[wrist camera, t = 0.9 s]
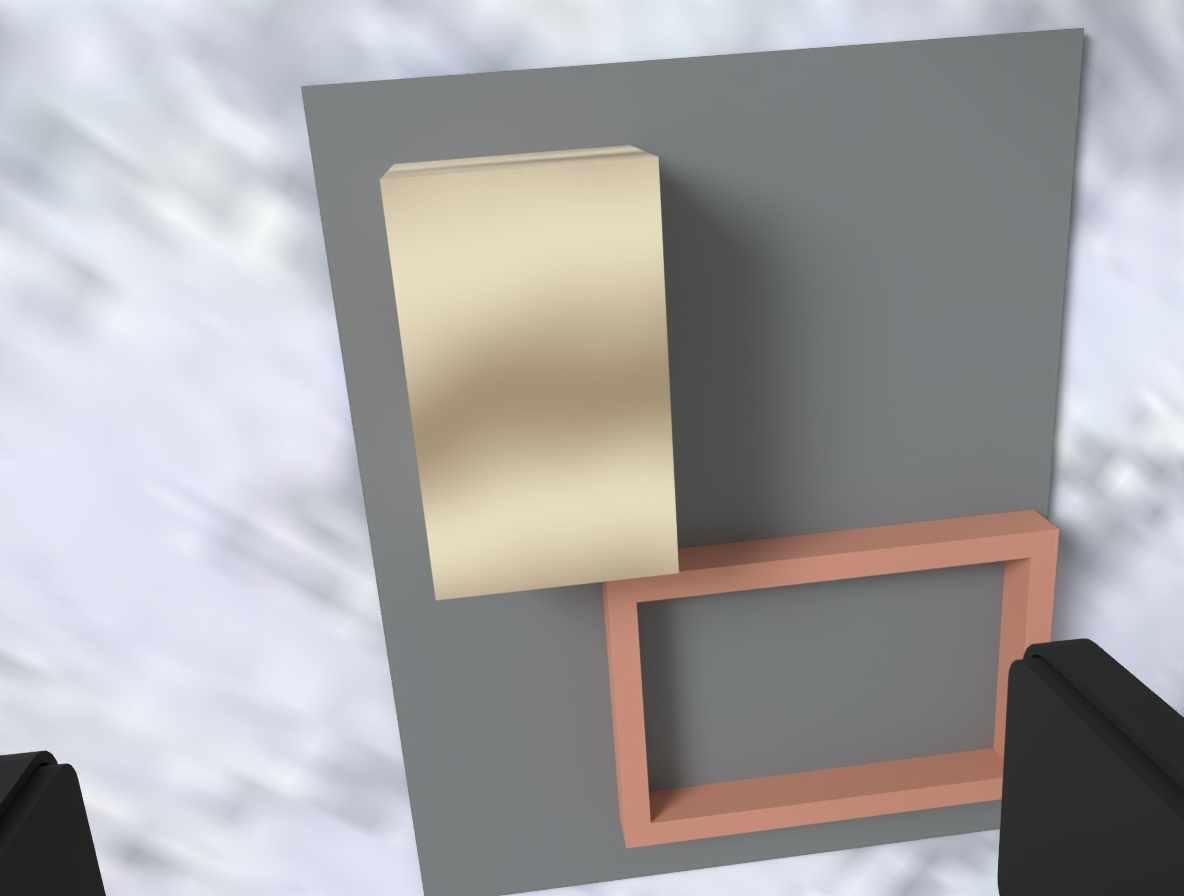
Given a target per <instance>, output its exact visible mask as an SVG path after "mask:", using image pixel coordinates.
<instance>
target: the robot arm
mask: <svg viewBox="0 0 1184 896" xmlns="http://www.w3.org/2000/svg"><path fill="white" fill-rule="evenodd" d="M998 889H999V895H1000V896H1184V717H1182V716H1181V715H1180V714H1179V713H1178V712H1176V711H1175V710H1174V709H1173V708H1172V707H1171V706H1169V705H1168V704H1167V703H1166V702H1165V701H1163V700H1162V699H1161V698H1160V697H1159V696H1157V695H1156V694H1155V693H1154V692H1153V691H1152V690H1150V689H1149V688H1148V687H1147V686H1146V685H1144V684H1143V683H1142V682H1141V681H1140V680H1138V679H1137V678H1136V677H1135V676H1134V675H1133V674H1131V673H1130V672H1129V671H1128V670H1127V669H1125V668H1124V667H1123V666H1122V665H1121V664H1120V663H1118V662H1117V661H1116V660H1115V659H1114V658H1112V657H1111V656H1110V655H1109V654H1108V653H1106V652H1105V651H1104V650H1103V649H1102V648H1101V647H1099V646H1098V645H1097V644H1096V643H1094V642H1093V641H1091V640H1089V639H1073V640H1064V641H1055V642H1046V643H1036V644H1031V645H1030V646H1029V647H1027V649H1026V651H1025V653H1024V655H1023V659H1020V660H1015V661H1014V662H1012V664H1011V666H1010V668H1009V674H1008V689H1007V708H1006V727H1005V746H1004V764H1003V783H1002V802H1001V821H1000V840H999V858H998ZM0 896H106V894H105V890H104V886H103V882H102V878H101V873H100V869H99V865H98V861H97V857H96V852H95V848H94V844H93V840H92V835H91V831H90V827H89V823H88V819H87V814H86V810H85V806H84V802H83V798H82V793H81V789H80V785H79V781H78V777H77V774H76V771H75V770H74V768H73V767H72V765H70V764H68V763H67V764H58V763H57V761H56V759H55V758H54V756H53V755H52V754H51V753H50V752H48V751H37V752H28V753H19V754H10V755H0Z"/></svg>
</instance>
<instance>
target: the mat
mask: <svg viewBox="0 0 1184 896" xmlns="http://www.w3.org/2000/svg"><path fill="white" fill-rule="evenodd" d="M1083 37H1084V28H1076V29H1063V30H1050V31H1036V32H1023V33H1009V34H996V35H983V36H969V37H956V38H943V39H929V40H916V41H903V42H889V43H876V44H863V45H849V46H836V47H823V48H809V49H796V50H783V51H769V52H756V53H742V54H729V55H716V56H702V57H689V58H676V59H662V60H649V61H636V62H622V63H609V64H596V65H582V66H569V67H556V68H542V69H529V70H515V71H502V72H489V73H475V74H462V75H449V76H435V77H422V78H409V79H395V80H382V81H369V82H355V83H342V84H329V85H315V86H302V87H301V90H302V96H303V103H304V110H305V116H306V123H307V129H308V136H309V142H310V149H311V155H312V162H313V169H314V175H315V182H316V188H317V195H318V201H319V208H320V214H321V221H322V228H323V234H324V241H325V247H326V254H327V260H328V267H329V274H330V280H331V287H332V293H333V300H334V306H335V313H336V319H337V326H338V333H339V339H340V346H341V352H342V359H343V365H344V372H345V378H346V385H347V392H348V398H349V405H350V411H351V418H352V424H353V431H354V437H355V444H356V451H357V457H358V464H359V470H360V477H361V483H362V490H363V496H364V503H365V510H366V516H367V523H368V529H369V536H370V542H371V549H372V555H373V562H374V569H375V575H376V582H377V588H378V595H379V601H380V608H381V615H382V621H383V628H384V634H385V641H386V647H387V654H388V660H389V667H390V674H391V680H392V687H393V693H394V700H395V706H396V713H397V719H398V726H399V733H400V739H401V746H402V752H403V759H404V765H405V772H406V778H407V785H408V792H409V798H410V805H411V811H412V818H413V824H414V831H415V837H416V844H417V851H418V857H419V864H420V870H421V877H422V883H423V890H424V896H501V895H508V894H516V893H523V892H531V891H538V890H546V889H553V888H561V887H568V886H576V885H583V884H591V883H598V882H606V881H613V880H621V879H628V878H636V877H643V876H651V875H658V874H665V873H673V872H680V871H688V870H695V869H703V868H710V867H718V866H725V865H733V864H740V863H748V862H755V861H763V860H770V859H778V858H785V857H793V856H800V855H808V854H815V853H823V852H830V851H838V850H845V849H853V848H860V847H868V846H875V845H882V844H890V843H897V842H905V841H912V840H920V839H927V838H935V837H942V836H950V835H957V834H965V833H972V832H980V831H987V830H995V829H1000V821H1001V802H1002V783H1003V764H1004V746H1005V727H1006V708H1007V689H1008V674H1009V668H1010V666H1011V664H1012V662H1014V661H1015V660H1020V659H1023V655H1024V653H1025V651H1026V649H1027V647H1029V646H1030V645H1031V644H1036V643H1046V642H1051V629H1052V617H1053V604H1054V592H1055V579H1056V566H1057V554H1058V541H1059V528H1057V527H1056V526H1055V525H1053V524H1052V523H1051V522H1049V521H1048V520H1047V516H1048V502H1049V489H1050V476H1051V462H1052V449H1053V436H1054V422H1055V409H1056V396H1057V383H1058V369H1059V356H1060V343H1061V329H1062V316H1063V303H1064V289H1065V276H1066V263H1067V250H1068V236H1069V223H1070V210H1071V196H1072V183H1073V170H1074V156H1075V143H1076V130H1077V116H1078V103H1079V90H1080V77H1081V63H1082V50H1083ZM624 145H631V146H633V147H636V148H638V149H641V150H643V151H646V152H648V153H650V154H653V155H655V156H658V158H659V178H660V198H661V219H662V239H663V260H664V280H665V301H666V321H667V341H668V362H669V382H670V403H671V423H672V443H673V464H674V484H675V505H676V525H677V545H678V566H679V573H676V574H668V575H659V576H650V577H641V578H632V579H623V580H614V581H605V582H596V583H587V584H578V585H569V586H560V587H552V588H543V589H534V590H525V591H516V592H507V593H498V594H489V595H480V596H471V597H462V598H453V599H444V600H436V599H435V591H434V584H433V576H432V569H431V561H430V554H429V546H428V539H427V531H426V524H425V516H424V509H423V501H422V494H421V486H420V479H419V471H418V463H417V456H416V448H415V441H414V433H413V426H412V418H411V411H410V403H409V396H408V388H407V381H406V373H405V366H404V358H403V351H402V343H401V336H400V328H399V321H398V313H397V306H396V298H395V291H394V283H393V276H392V268H391V261H390V253H389V246H388V238H387V231H386V223H385V216H384V208H383V201H382V193H381V185H380V179H381V178H382V177H383V176H384V174H385V173H386V172H387V171H388V170H389V169H390V168H391V167H392V166H393V165H394V164H401V163H414V162H426V161H439V160H451V159H463V158H476V157H488V156H500V155H513V154H525V153H537V152H550V151H562V150H575V149H587V148H599V147H612V146H624Z"/></svg>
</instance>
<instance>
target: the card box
mask: <svg viewBox="0 0 1184 896" xmlns="http://www.w3.org/2000/svg"><path fill="white" fill-rule="evenodd" d="M380 185H381V193H382V201H383V208H384V216H385V223H386V231H387V238H388V246H389V253H390V261H391V268H392V276H393V283H394V291H395V298H396V306H397V313H398V321H399V328H400V336H401V343H402V351H403V358H404V366H405V373H406V381H407V388H408V396H409V403H410V411H411V418H412V426H413V433H414V441H415V448H416V456H417V463H418V471H419V479H420V486H421V494H422V501H423V509H424V516H425V524H426V531H427V539H428V546H429V554H430V561H431V569H432V576H433V584H434V591H435V599H436V600H444V599H453V598H462V597H471V596H480V595H489V594H498V593H507V592H516V591H525V590H534V589H543V588H552V587H560V586H569V585H578V584H587V583H596V582H605V581H614V580H623V579H632V578H641V577H650V576H659V575H668V574H676V573H679V566H678V545H677V525H676V505H675V484H674V464H673V443H672V423H671V403H670V382H669V362H668V341H667V321H666V301H665V280H664V260H663V239H662V219H661V198H660V178H659V158H658V156H655V155H653V154H650V153H648V152H646V151H643V150H641V149H638V148H636V147H633V146H631V145H624V146H612V147H599V148H587V149H575V150H562V151H550V152H537V153H525V154H513V155H500V156H488V157H476V158H463V159H451V160H439V161H426V162H414V163H401V164H394V165H393V166H392V167H391V168H390V169H389V170H388V171H387V172H386V173H385V174H384V176H383V177H382V178H381V179H380Z"/></svg>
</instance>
